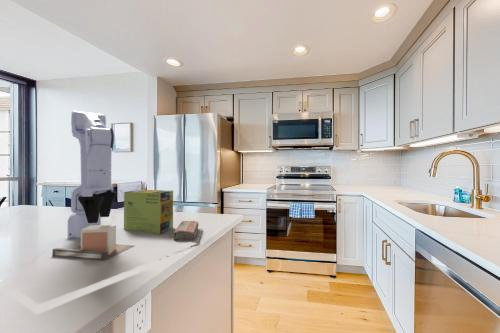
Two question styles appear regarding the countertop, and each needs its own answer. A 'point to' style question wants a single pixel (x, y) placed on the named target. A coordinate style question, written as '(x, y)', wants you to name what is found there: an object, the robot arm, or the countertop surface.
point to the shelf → (89, 252)
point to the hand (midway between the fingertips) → (99, 219)
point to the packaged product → (188, 232)
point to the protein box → (148, 210)
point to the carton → (99, 238)
